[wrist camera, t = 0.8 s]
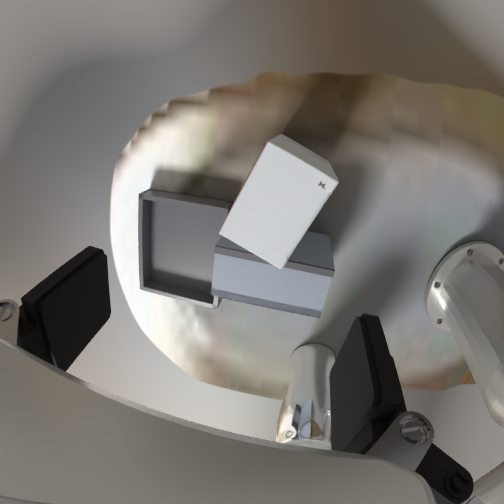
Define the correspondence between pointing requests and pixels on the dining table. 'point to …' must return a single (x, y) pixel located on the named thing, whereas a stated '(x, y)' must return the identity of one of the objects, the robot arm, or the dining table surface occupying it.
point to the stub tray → (179, 244)
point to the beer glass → (307, 399)
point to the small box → (279, 200)
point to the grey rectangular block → (276, 276)
